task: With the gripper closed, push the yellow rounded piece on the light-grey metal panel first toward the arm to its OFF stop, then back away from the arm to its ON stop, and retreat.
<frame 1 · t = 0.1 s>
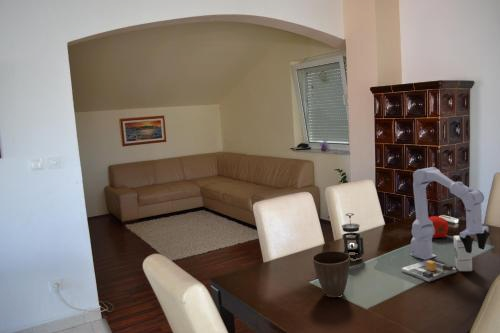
hand: (475, 250, 174), 10 cm above the table, fingers open, 7 cm apart
tomato: (436, 237, 228), on the table
white segmented block tower: (463, 269, 182), on the table
plant pot: (334, 295, 169), on the table
yellow rounded piece: (431, 265, 180), point 3 cm above the table, slide at 0.0 cm
breaker panel: (428, 271, 182), on the table
french press: (353, 258, 208), on the table
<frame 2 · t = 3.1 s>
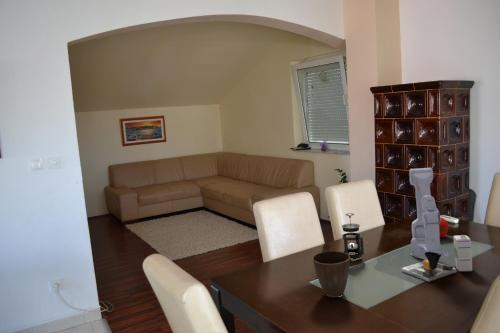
hand: (433, 268, 179), 3 cm above the table, fingers closed
yellow rounded piece: (428, 264, 181), point 3 cm above the table, slide at -1.5 cm, touching gripper
everything else where it was.
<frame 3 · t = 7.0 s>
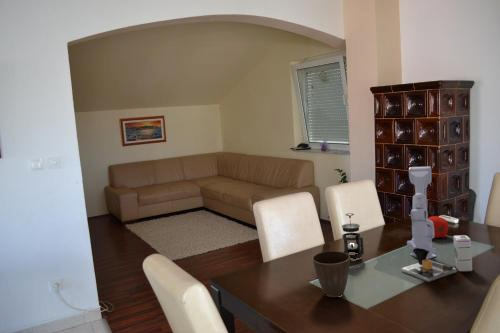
hand: (422, 264, 185), 3 cm above the table, fingers closed
yellow rounded piece: (427, 264, 182), point 3 cm above the table, slide at -2.1 cm, touching gripper
everything else where it was.
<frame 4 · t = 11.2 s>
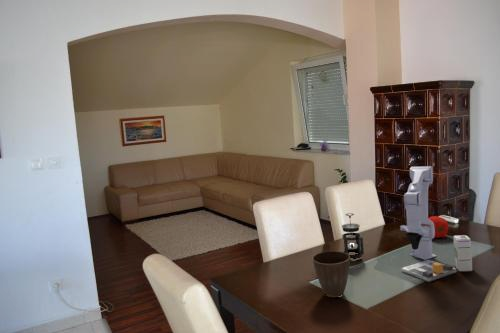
hand: (415, 248, 183), 10 cm above the table, fingers closed
yellow rounded piece: (437, 267, 177), point 3 cm above the table, slide at 3.4 cm
everything else where it was.
at the end: yellow rounded piece slide at 3.4 cm; the gripper is holding nothing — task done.
